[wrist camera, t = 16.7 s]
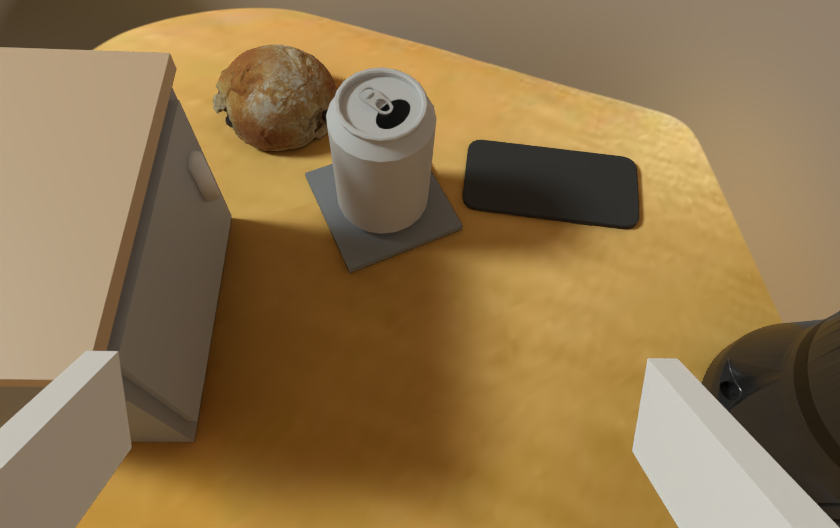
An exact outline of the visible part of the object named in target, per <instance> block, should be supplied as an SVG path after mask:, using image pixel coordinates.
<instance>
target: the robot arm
mask: <svg viewBox="0 0 840 528" xmlns="http://www.w3.org/2000/svg"><path fill="white" fill-rule="evenodd" d="M131 448H132V446H131V439H130V431H129V424H128V417H127V410H126V403H125V396H124V389H123V382H122V374H121V367H120V360H119V353H118V351H85V352H84V353H83V354H82V355H81V356H80V357H79V358H78V359H76V360H75V361H74V362H73V363H72V364H71V365H70V366H69V367H68V368H66V369H65V370H64V371H63V372H62V373H61V374H60V375H59V376H58V377H56V378H55V379H54V380H53V381H52V382H51V383H50V384H49V385H47V386H46V387H45V388H44V389H43V390H42V391H41V392H40V393H39V394H37V395H36V396H35V397H34V398H33V399H32V400H31V401H30V402H29V403H27V404H26V405H25V406H24V407H23V408H22V409H21V410H20V411H19V412H17V413H16V414H15V415H14V416H13V417H12V418H11V419H10V420H9V421H7V422H6V423H5V424H4V425H3V426H2V427H1V428H0V528H75V527H76V526H77V524H78V523H79V522H80V520H81V519H82V517H83V516H84V515H85V513H86V512H87V510H88V509H89V508H90V506H91V505H92V503H93V502H94V500H95V499H96V498H97V496H98V495H99V493H100V492H101V491H102V489H103V488H104V486H105V485H106V483H107V482H108V481H109V479H110V478H111V476H112V475H113V474H114V472H115V471H116V469H117V468H118V467H119V465H120V464H121V462H122V461H123V459H124V458H125V457H126V455H127V454H128V452H129V451H130V450H131ZM632 452H633V453H634V455H635V457H636V458H637V460H638V462H639V463H640V465H641V466H642V468H643V470H644V471H645V473H646V475H647V476H648V478H649V480H650V481H651V483H652V485H653V486H654V488H655V489H656V491H657V493H658V494H659V496H660V498H661V499H662V501H663V503H664V504H665V506H666V508H667V509H668V511H669V513H670V514H671V516H672V517H673V519H674V521H675V522H676V524H677V526H678V527H679V528H840V311H839V312H837V313H835V314H834V315H832V316H830V317H828V318H827V319H824V320H813V321H803V322H792V323H781V324H774V325H770V326H766V327H763V328H760V329H757V330H754V331H752V332H750V333H748V334H746V335H744V336H743V337H741V338H740V339H738V340H736V341H735V342H733V343H732V344H730V345H729V346H727V347H726V348H725V349H724V350H722V351H721V352H720V353H719V354H718V355H717V356H716V358H715V359H714V360H713V361H712V363H711V364H710V366H709V368H708V370H707V371H706V374H705V376H704V378H703V381H702V384H701V383H700V382H699V381H698V380H697V378H696V377H695V376H694V375H693V374H692V373H691V372H690V371H689V370H688V369H687V368H686V367H685V366H684V365H683V364H682V363H681V362H680V361H679V360H678V359H667V358H648V360H647V366H646V372H645V378H644V384H643V390H642V396H641V402H640V408H639V414H638V420H637V426H636V432H635V438H634V444H633V450H632Z"/></svg>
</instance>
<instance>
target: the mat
mask: <svg viewBox="0 0 840 528" xmlns="http://www.w3.org/2000/svg"><path fill="white" fill-rule="evenodd" d="M305 175H306V179H307V181H308V183H309V185H310V187H311V190H312V192H313V194H314V196H315V198H316V200H317V203H318V205H319V207H320V209H321V211H322V214H323V216H324V218H325V220H326V222H327V224H328V227H329V229H330V231H331V233H332V235H333V238H334V240H335V242H336V244H337V246H338V249H339V251H340V253H341V255H342V257H343V259H344V262H345V264H346V266H347V268H348V270H349V273H351V272H354V271H356V270H359V269H361V268H364V267H367V266H369V265H372V264H374V263H377V262H379V261H382V260H385V259H387V258H390V257H392V256H395V255H397V254H400V253H403V252H405V251H408V250H410V249H413V248H415V247H418V246H421V245H423V244H426V243H428V242H431V241H433V240H436V239H439V238H441V237H444V236H446V235H449V234H451V233H454V232H457V231H459V230H462V224H461V222H460V220H459V219H458V217H457V215H456V213H455V212H454V210H453V208H452V206H451V204H450V203H449V201H448V199H447V197H446V196H445V194H444V192H443V190H442V189H441V187H440V185H439V183H438V182H437V180H436V178H435V176H434V175H433V173H432V171H431V176H430V185H429V195H428V200H427V206H426V208H425V210H424V212H423V213H422V215H421V217H420V218H419V219H418V220H417V221H415V222H414V223H413V224H412V225H411V226H409V227H407V228H405V229H402V230H400V231H397V232H392V233H383V234H380V233H374V232H368V231H365V230H363V229H361V228H359V227H357V226H355V225H353V224H352V223H351V222H350V221H349V220H348V219H347V218H346V217H345V216H344V214H343V213H342V211H341V209H340V207H339V205H338V198H337V191H336V184H335V177H334V170H333V164H330V165H328V166H325V167H322V168H319V169H316V170H313V171H310V172H307V173H305Z"/></svg>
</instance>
